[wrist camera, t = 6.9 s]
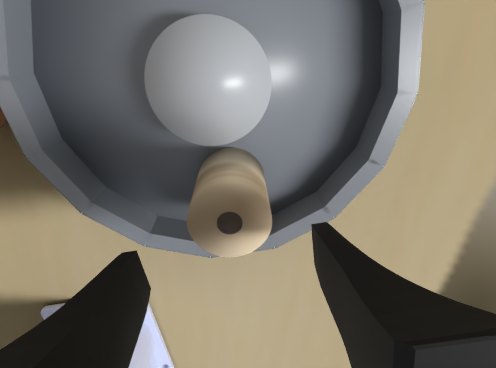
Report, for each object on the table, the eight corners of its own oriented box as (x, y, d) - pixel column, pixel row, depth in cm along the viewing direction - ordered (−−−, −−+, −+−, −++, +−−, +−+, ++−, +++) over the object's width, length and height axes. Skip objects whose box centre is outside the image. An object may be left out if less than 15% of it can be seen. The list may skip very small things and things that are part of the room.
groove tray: (389, 207, 21) (407, 229, 19) (100, 250, 22) (84, 276, 20) (407, -221, 13) (446, -278, 10) (-67, -126, 14) (-131, -159, 11)
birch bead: (268, 201, 20) (277, 251, 16) (206, 211, 20) (197, 263, 16) (258, 142, 18) (266, 178, 14) (191, 153, 19) (176, 193, 14)
